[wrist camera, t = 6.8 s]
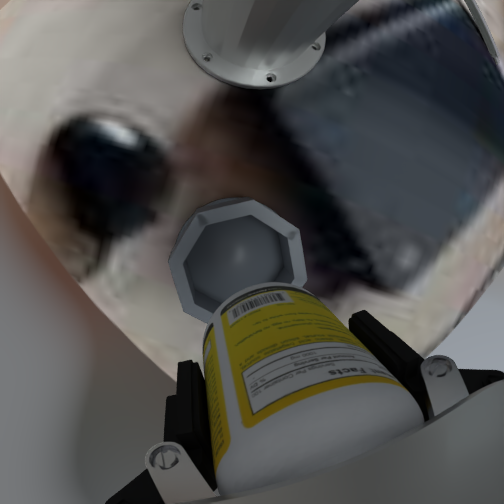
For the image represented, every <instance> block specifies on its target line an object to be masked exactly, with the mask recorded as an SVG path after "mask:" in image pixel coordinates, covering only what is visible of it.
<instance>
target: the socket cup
mask: <svg viewBox="0 0 504 504" xmlns="http://www.w3.org/2000/svg"><path fill="white" fill-rule="evenodd" d="M168 263H169V266H170V270H171V273H172V276H173V280H174V283H175V286H176V289H177V293H178V296H179V299H180V302H181V305H182V308H183V312H185V313H187V314H189V315H191V316H193V317H195V318H197V319H199V320H201V321H203V322H205V323H207V324H208V322H209V320H210V319H211V317H212V315H213V314H214V312H215V311H216V310H217V309H218V307H219V306H220V305H221V304H222V303H223V302H225V301H226V300H227V299H228V298H230V297H231V296H232V295H234V294H235V293H237V292H239V291H241V290H243V289H245V288H248V287H250V286H253V285H257V284H261V283H268V282H281V283H287V284H292V285H295V286H298V287H301V288H302V287H303V285H304V284H305V282H306V281H307V275H306V269H305V262H304V256H303V250H302V244H301V238H300V232H299V229H298V228H296V227H295V226H293V225H292V224H290V223H289V222H287V221H285V220H284V219H282V218H281V217H279V216H278V215H277V214H276V213H275V212H274V211H273V210H271V209H270V208H269V207H267V206H265V205H263V204H261V203H259V202H256V201H255V200H254V199H252V198H250V197H243V198H225V199H220V200H216V201H213V202H211V203H209V204H207V205H205V206H203V207H201V208H197V210H196V211H195V213H194V214H193V215H192V216H191V217H190V218H189V219H188V220H187V221H186V223H185V224H184V226H183V227H182V229H181V231H180V233H179V235H178V238H177V241H176V244H175V246H174V248H173V250H172V251H171V254H170V257H169V260H168Z"/></svg>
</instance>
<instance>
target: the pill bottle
mask: <svg viewBox="0 0 504 504" xmlns="http://www.w3.org/2000/svg"><path fill="white" fill-rule="evenodd" d="M203 365H204V376H205V388H206V398H207V408H208V419H209V429H210V437H211V445H212V454H213V464H214V471H215V478H216V483H217V487H218V491H219V494H220V496H223V495H228V494H233V493H238V492H242V491H247V490H252V489H256V488H260V487H264V486H268V485H272V484H276V483H280V482H283V481H287V480H290V479H294V478H297V477H300V476H303V475H306V474H309V473H313V472H315V471H318V470H321V469H324V468H327V467H330V466H332V465H335V464H338V463H340V462H343V461H345V460H348V459H350V458H353V457H355V456H358V455H360V454H362V453H365V452H367V451H369V450H371V449H373V448H376V447H378V446H380V445H382V444H384V443H386V442H388V441H390V440H392V439H394V438H396V437H398V436H400V435H402V434H404V433H406V432H408V431H410V430H412V429H414V428H415V427H417V426H419V425H421V424H422V423H424V417H423V414H422V411H421V409H420V407H419V405H418V404H417V402H416V401H415V399H414V398H413V396H412V395H411V394H410V393H409V391H408V390H407V389H406V388H405V387H403V386H402V384H401V383H400V382H399V381H398V380H397V379H396V378H395V377H394V376H393V375H392V374H391V373H390V372H389V371H388V370H387V369H386V368H385V367H384V366H383V365H382V364H381V363H380V362H379V361H378V360H377V359H376V357H375V356H374V355H373V354H372V353H371V352H370V351H369V350H368V349H367V348H366V347H365V346H364V345H363V344H362V343H361V342H360V341H359V340H358V339H357V338H356V337H355V336H354V335H353V333H351V332H350V331H349V330H348V329H347V328H346V327H345V326H344V325H343V324H342V323H341V322H340V321H339V319H338V318H337V317H336V316H335V315H334V314H333V313H332V312H331V311H330V310H329V309H328V308H327V307H326V306H325V305H324V304H323V303H322V302H321V301H320V300H319V299H318V298H317V297H315V296H314V295H313V294H311V293H310V292H308V291H307V290H305V289H303V288H301V287H298V286H295V285H292V284H287V283H281V282H268V283H261V284H257V285H253V286H250V287H248V288H245V289H243V290H241V291H239V292H237V293H235V294H234V295H232V296H231V297H230V298H228V299H227V300H226V301H225V302H223V303H222V304H221V305H220V306H219V307H218V309H217V310H216V311H215V312H214V314H213V315H212V317H211V319H210V320H209V322H208V324H207V327H206V330H205V333H204V338H203Z"/></svg>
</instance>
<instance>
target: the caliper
mask: <svg viewBox="0 0 504 504" xmlns="http://www.w3.org/2000/svg"><path fill="white" fill-rule="evenodd" d="M464 1H465V2H466V4H467V6H468V8H469V10H470V12H471V14H472V16H473V18H474V20H475V22H476V24H477V26H478V28H479V30H480V32H481V35H482V37H483V39H484V42H485V44H486V46H487V49H488V50H489V52H490V54H491V56H492V57H494V60H495V63H496V65H498V64H499V62H500V61H499V58H498V57H499V56H500V54H499V52H498V49H497V47H496V44H495V42H494V39H493V37H492V35H491V32H490V30H489V28H488V26H487V23H486V21H485V19H484V17H483V15H482V13H481V11H480V9H479V7H478V5H477V3H476V1H475V0H464Z"/></svg>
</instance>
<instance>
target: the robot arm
mask: <svg viewBox="0 0 504 504" xmlns="http://www.w3.org/2000/svg"><path fill="white" fill-rule="evenodd" d="M358 1H359V0H191V2H190V3H189V5H188V7H187V9H186V11H185V14H184V19H183V35H184V40H185V44H186V47H187V49H188V51H189V53H190V55H191V56H192V57H193V59H194V60H195V61H196V63H197V64H198V65H199V66H200V67H201V68H203V69H204V70H205V71H206V72H207V73H209V74H210V75H212V76H213V77H215V78H217V79H218V80H221V81H223V82H226V83H228V84H230V85H234V86H238V87H242V88H247V89H272V88H277V87H281V86H285V85H288V84H290V83H292V82H295V81H297V80H299V79H300V78H301V77H303V76H304V75H306V74H307V73H308V72H309V71H310V70H311V69H312V68H313V67H315V65H316V64H317V62H318V61H319V59H320V58H321V56H322V54H323V51H324V48H325V41H326V34H325V31H326V30H327V29H328V28H329V27H330V26H331V25H332V24H333V23H334V22H336V21H337V20H338V19H339V18H340V17H341V16H342V15H343V14H344V13H345V12H346V11H348V10H349V9H350V8H351V7H352V6H353V5H354V4H355V3H357V2H358ZM313 48H314V49H315V50H314V49H313ZM206 58H208V59H210V61H209V62H206V61H204V59H206ZM267 78H270V79H271V80H272V81H271V82H269V81H267ZM349 331H350V332H351V333H353V335H354V336H355V337H356V338H357V339H358V340H359V341H360V342H361V343H362V344H363V345H364V346H365V347H366V348H367V349H368V350H369V351H370V352H371V353H372V354H373V355H374V356H375V357H376V359H377V360H378V361H379V362H380V363H381V364H382V365H383V366H384V367H385V368H386V369H387V370H388V371H389V372H390V373H391V374H392V375H393V376H394V377H395V378H396V379H397V380H398V381H399V382H400V383H401V384H402V386H403V387H405V388H406V389H407V390H408V391H409V393H410V394H411V395H412V396H413V398H414V399H415V401H416V402H417V404H418V405H419V407H420V409H421V411H422V414H423V417H424V423H422V424H421V425H419V426H417V427H415V428H414V429H412V430H410V431H408V432H406V433H404V434H402V435H400V436H398V437H396V438H394V439H392V440H390V441H388V442H386V443H384V444H382V445H380V446H378V447H376V448H373V449H371V450H369V451H367V452H365V453H362V454H360V455H358V456H355V457H353V458H350V459H348V460H345V461H343V462H340V463H338V464H335V465H332V466H330V467H327V468H324V469H321V470H318V471H315V472H313V473H309V474H306V475H303V476H300V477H297V478H294V479H290V480H287V481H283V482H280V483H276V484H272V485H268V486H264V487H260V488H256V489H252V490H247V491H242V492H238V493H233V494H228V495H223V496H216V495H215V493H214V491H215V490H216V489H217V483H216V478H215V471H214V464H213V454H212V445H211V437H210V429H209V419H208V408H207V398H206V388H205V380H204V377H203V374H202V372H201V369H200V367H199V364H198V362H195V363H193V361H192V360H187V361H183V362H179V363H178V371H177V392H176V395H172V396H168V397H167V399H166V411H165V427H164V442H163V443H159V444H157V445H155V446H153V447H152V448H151V449H150V450H149V451H148V453H147V454H146V457H145V463H146V466H147V469H146V470H145V471H143V472H142V473H141V474H140V475H139V476H137V477H136V478H135V479H134V480H132V481H131V482H130V483H129V484H127V485H126V486H125V487H124V488H122V489H121V490H120V491H118V492H117V493H116V494H115V495H113V496H112V497H111V498H110V499H108V501H106V503H105V504H504V373H503V372H501V371H498V370H472V369H458V368H457V366H456V364H455V362H454V361H453V360H452V359H451V358H449V357H447V356H443V355H435V356H431V357H428V358H427V359H425V360H424V359H423V358H422V357H421V356H420V355H419V354H418V353H416V352H415V351H414V350H413V349H412V348H411V347H410V346H408V345H407V344H406V343H405V342H404V341H403V340H401V339H400V338H399V337H398V336H397V335H396V334H394V333H393V332H391V331H389V330H388V329H387V328H386V327H385V326H383V325H382V324H381V323H380V322H379V321H378V320H376V319H375V318H374V317H373V316H372V315H371V314H369V313H368V312H367V311H366V310H362V311H359V312H357V313H354V314H352V316H351V318H349Z"/></svg>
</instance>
